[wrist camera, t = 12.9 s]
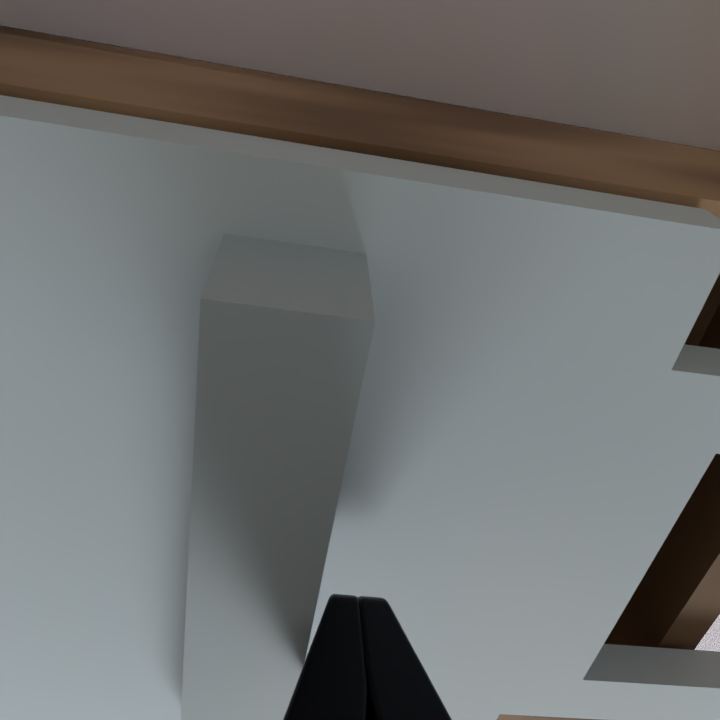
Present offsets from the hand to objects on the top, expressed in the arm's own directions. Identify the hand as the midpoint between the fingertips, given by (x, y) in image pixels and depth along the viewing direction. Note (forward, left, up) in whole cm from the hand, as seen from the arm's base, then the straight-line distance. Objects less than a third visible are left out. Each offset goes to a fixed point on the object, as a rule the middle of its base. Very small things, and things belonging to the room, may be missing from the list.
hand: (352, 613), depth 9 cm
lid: (0, 0, -2) cm, 2 cm away
